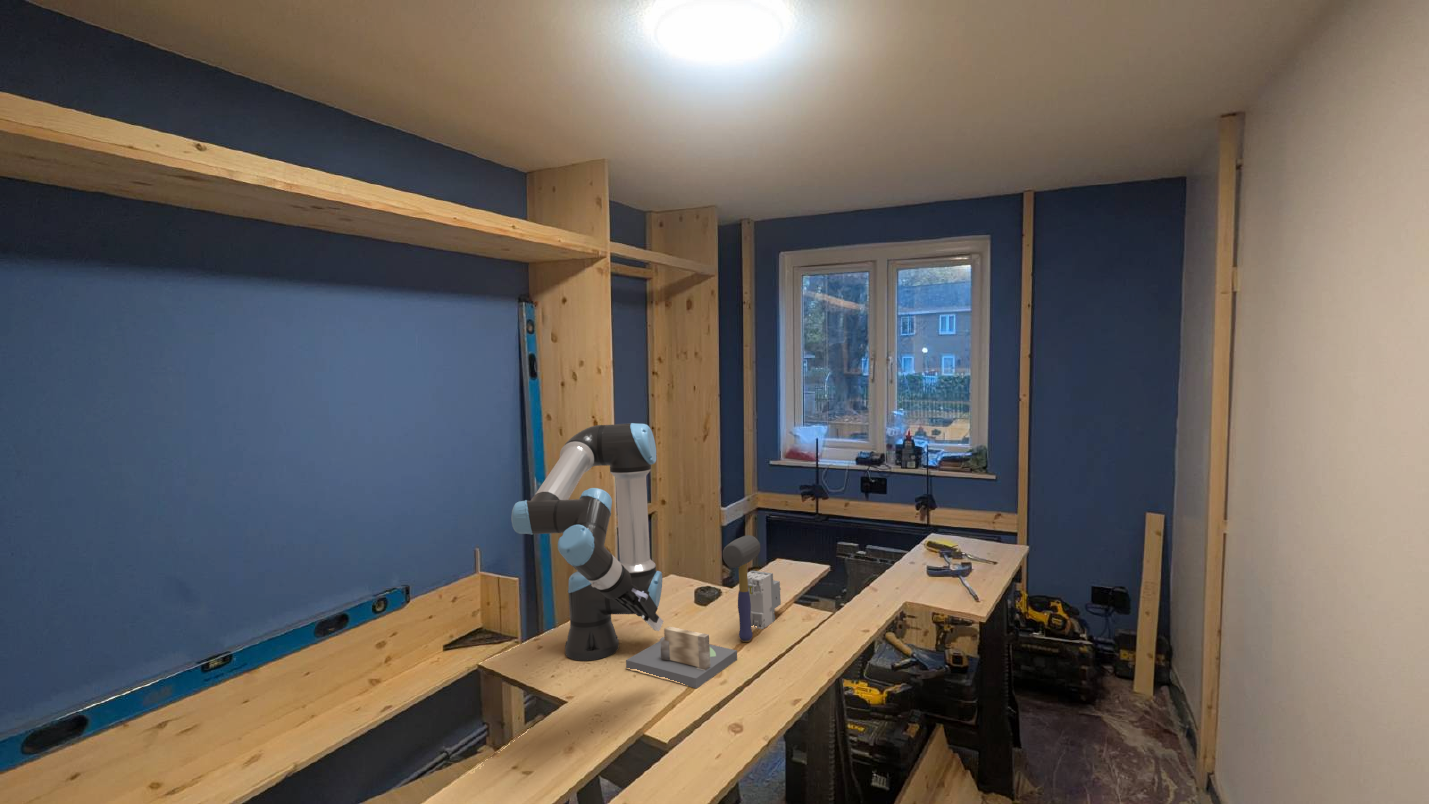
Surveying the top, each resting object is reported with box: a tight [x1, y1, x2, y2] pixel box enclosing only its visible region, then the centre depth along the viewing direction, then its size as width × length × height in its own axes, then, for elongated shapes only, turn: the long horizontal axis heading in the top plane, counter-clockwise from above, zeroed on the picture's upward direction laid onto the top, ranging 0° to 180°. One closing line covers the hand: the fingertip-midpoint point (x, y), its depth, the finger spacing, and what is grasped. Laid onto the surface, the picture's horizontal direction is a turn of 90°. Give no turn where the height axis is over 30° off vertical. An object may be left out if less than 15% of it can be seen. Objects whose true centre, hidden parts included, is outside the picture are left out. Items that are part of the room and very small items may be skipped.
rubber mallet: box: [722, 535, 761, 643], centre depth 185 cm, size 12×8×30 cm, turn 151°
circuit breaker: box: [747, 570, 782, 630], centre depth 201 cm, size 8×14×15 cm, turn 148°
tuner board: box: [625, 640, 738, 689], centre depth 171 cm, size 23×19×2 cm
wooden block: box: [659, 626, 710, 669], centre depth 166 cm, size 15×4×8 cm, turn 56°
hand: (659, 625), depth 157 cm, fingers closed
